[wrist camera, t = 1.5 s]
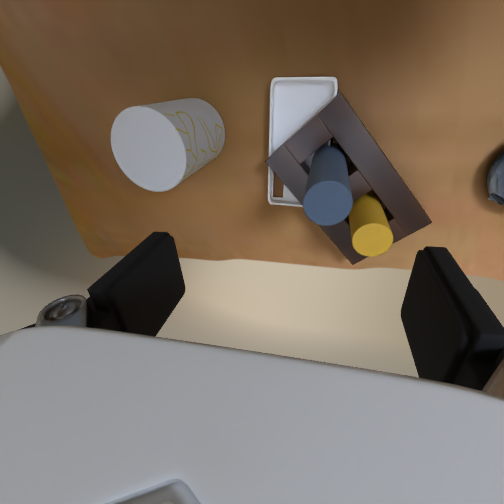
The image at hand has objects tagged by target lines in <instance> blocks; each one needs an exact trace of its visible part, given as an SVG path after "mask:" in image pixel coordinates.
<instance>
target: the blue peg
mask: <svg viewBox="0 0 504 504" xmlns="http://www.w3.org/2000/svg"><path fill="white" fill-rule="evenodd" d="M352 205H353V199H352V193H351V188H350V182H349V176H348V171H347V165H346V159H345V154H344V151H343V150H342V148H341V147H339V146H338V145H336V144H332V143H330V146H327V144H326V145H323V146H322V147H320V148H319V149H318V150H317V151H316V152H315V153H314V155H313V159H312V163H311V168H310V172H309V176H308V181H307V185H306V190H305V194H304V199H303V209H304V212H305V214H306V215H307V217H308V218H309V219H310V220H311V221H313V222H314V223H316V224H319V225H325V226H329V225H334V224H337V223H339V222H341V221H343V220H344V219H345V218H346V217H347V216H348V215H349V213H350V211H351V209H352Z"/></svg>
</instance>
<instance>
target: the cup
mask: <svg viewBox="0 0 504 504" xmlns="http://www.w3.org/2000/svg"><path fill="white" fill-rule="evenodd" d="M224 142H225V129H224V124H223V121H222V119H221V117H220V115H219V114H218V112H217V111H216V110H215V108H214V107H213V106H212V105H210V104H209V103H208V102H206V101H204V100H201V99H198V98H187V99H180V100H173V101H167V102H160V103H154V104H147V105H140V106H134V107H130V108H127V109H125V110H124V111H122V112H121V113H120V114H119V115H118V116H117V117H116V119H115V121H114V123H113V126H112V130H111V146H112V150H113V154H114V156H115V159H116V161H117V163H118V165H119V166H120V168H121V169H122V171H123V172H124V173H125V175H126V176H127V177H128V178H129V179H130V180H131V181H133V182H134V183H135V184H137V185H138V186H140V187H142V188H144V189H147V190H150V191H156V192H162V191H167V190H169V189H172V188H173V187H175V186H176V185H178V184H179V183H180V182H182V181H183V180H185V179H186V178H188V177H189V176H190V175H192V174H193V173H195V172H196V171H198V170H199V169H200V168H202V167H203V166H205V165H206V164H207V163H209V162H210V161H212V160H213V159H215V158H216V157H217V156H218V155H219V154H220V152H221V150H222V148H223V146H224Z"/></svg>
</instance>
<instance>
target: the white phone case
mask: <svg viewBox="0 0 504 504" xmlns="http://www.w3.org/2000/svg"><path fill="white" fill-rule="evenodd" d="M337 89H338V83H337V79H336V78H335V77H275V78H273V80H272V82H271V87H270V123H269V156H271V154H272V153H273V152H274V151H275V150H276V149H278V148H279V147H280V146H281V145H282V144H283V143H284V142H285V141H286V140H287V139H288V138H290V137H291V136H292V135H293V134H294V133H295V132H296V131H297V130H298V129H299V128H300V127H302V126H303V125H304V124H305V123H306V122H307V121H308V120H309V119H310V118H311V117H312V116H314V115H315V114H316V113H317V112H318V111H319V110H320V109H321V108H322V107H323V106H324V105H326V104H327V103H328V102H329V101H330V100H331V99H332V98H333V97H335V96H336V95H337ZM330 141H331V139H330V140H329V141H328V142H326V143H325V144H324V145H326V144H327V146H330ZM314 153H315V152H314ZM314 153H313V154H312V155H311V156H310V157H308V158H307V159H306V160H305V161H304V162H305V163H306V164H307V165H308V167H309V168H311V163H312V159H313V155H314ZM273 180H274V172H273V171H272V169H271V168H270V167H269V166H268V201H269V203H270V204H274V205H286V206H298V207H303V206H302V205H301V204H300V202H299V201H298V200H297V199H296V198H295V197H294V195H293V194H292V193H291V192H290V191H289V189H288V188H287V187H286V186H285V185H284V187H283V197H273Z"/></svg>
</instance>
